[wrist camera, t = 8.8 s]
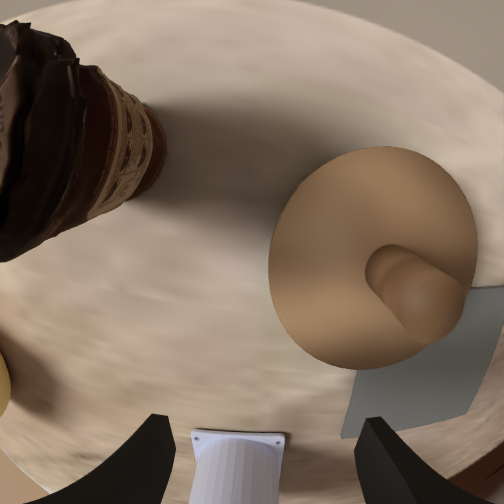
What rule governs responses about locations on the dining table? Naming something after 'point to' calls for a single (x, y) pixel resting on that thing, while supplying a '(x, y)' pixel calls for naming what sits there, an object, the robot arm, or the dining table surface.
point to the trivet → (432, 372)
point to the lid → (372, 258)
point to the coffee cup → (65, 140)
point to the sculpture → (4, 386)
